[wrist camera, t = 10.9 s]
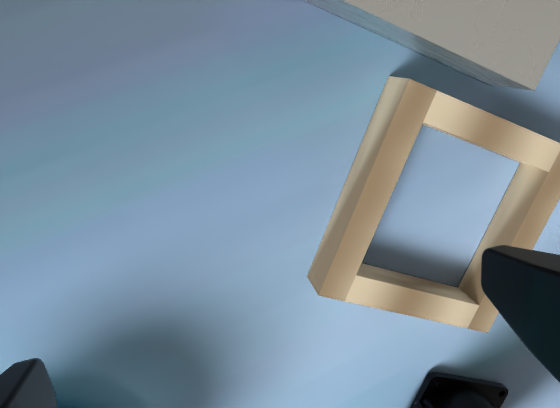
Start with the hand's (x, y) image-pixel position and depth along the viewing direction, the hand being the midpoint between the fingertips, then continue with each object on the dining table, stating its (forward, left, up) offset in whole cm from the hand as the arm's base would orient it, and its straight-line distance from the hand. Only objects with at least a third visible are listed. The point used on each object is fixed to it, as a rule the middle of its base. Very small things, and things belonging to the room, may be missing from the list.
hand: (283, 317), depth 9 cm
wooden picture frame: (-12, -1, -13) cm, 18 cm away
